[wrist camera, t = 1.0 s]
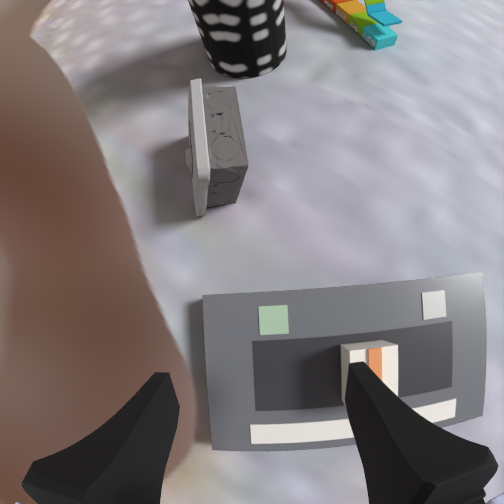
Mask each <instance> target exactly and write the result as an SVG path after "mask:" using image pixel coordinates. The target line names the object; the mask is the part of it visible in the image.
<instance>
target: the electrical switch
mask: <svg viewBox="0 0 504 504" xmlns="http://www.w3.org/2000/svg"><path fill="white" fill-rule="evenodd" d="M188 126H189V148H188V149H185V160H186V165H187V167H188V170H189V172H190V174H191V176H192V185H193V196H194V206H195V211H196V215H197V216H203V215H206V207H209V206H218V205H222V204H231V203H236V200H237V197H238V194H239V191H240V188H241V186H242V183H243V180H244V177H245V174H246V171H247V168H248V160H247V154H246V147H245V141H244V135H243V129H242V123H241V117H240V111H239V105H238V99H237V93H236V87H215V86H211V87H206V86H202V82H201V79H200V78H199V79H194V80H190V87H189V100H188ZM228 136H229V137H228ZM240 147H241V148H240ZM235 166H241V167H235Z"/></svg>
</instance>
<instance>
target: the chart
mask: <svg viewBox="0 0 504 504" xmlns="http://www.w3.org/2000/svg"><path fill="white" fill-rule="evenodd" d="M320 1H321V2H323V3H324V4H325V5H326V6H328V7H329V8H330V9H331V10H332V11H334V12H335V13H336V15H338V16H339V17H340V18H342V19H343V20H344V21H345V22H346V23H347V24H348V25H349V26H350V27H352V28H353V29H354V30H355V31H356V32H357V33H358V34H359V35H360V36H361V37H362V38H363V39H364V40H366V41H367V42H368V43H369V44H370V45H371V46H372V47H373V48H374V49H375V50H378V49H382V48H385V47H389V46H393V45H395V42H396V39H397V34H396V33H395V32H393V31H392V30H391V29H390V28H389V27H388V26H389V25H394V24H399V23H402V20H400V19H399V18H397V17H396V16H394V15H393V14H391V13H390V12H388V11H387V10H386V8H385V3H384V0H364V1H365V6H366V7H364V6H363V5H362V4H361V3H359V2H358V1H357V0H320Z"/></svg>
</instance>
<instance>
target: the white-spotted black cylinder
mask: <svg viewBox="0 0 504 504" xmlns="http://www.w3.org/2000/svg"><path fill="white" fill-rule="evenodd" d="M188 2H189V4H190V7H191V10H192V13H193V16H194V18H195V21H196V24H197V27H198V30H199V33H200V35H201V38H202V41H203V44H204V47H205V50H206V53H207V56H208V58H209V61H210V64H211V65H212V67H213V68H214V69H215V70H216V71H217V72H219V73H221V74H223V75H225V76H229V77H233V78H251V77H256V76H260V75H263V74H266V73H268V72H270V71H272V70H274V69H275V68H276V67H278V66H279V65H280V64H281V63H282V61H283V60H284V58H285V56H286V34H285V17H284V2H283V0H188Z"/></svg>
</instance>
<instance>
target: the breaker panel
mask: <svg viewBox="0 0 504 504" xmlns="http://www.w3.org/2000/svg"><path fill="white" fill-rule="evenodd" d="M202 298H203V323H204V343H205V361H206V377H207V392H208V405H209V418H210V430H211V441H212V450H223V451H288V450H306V449H319V448H330V447H340V446H348V445H356V441H355V438H354V435H353V432H352V429H351V426H350V423H349V419H348V414H347V409H346V406H345V405H344V403H343V401H342V379H341V344H352V343H361V342H370V341H378V340H384V341H387V342H390V343H393V344H397V345H398V397H399V398H400V399H401V400H402V401H403V402H405V403H406V404H407V405H408V406H409V407H410V408H412V409H413V410H414V411H416V412H417V413H418V414H420V415H421V416H423V417H424V418H425V419H427V420H428V421H430V422H432V423H433V424H435V425H437V426H438V427H440V428H442V427H446V426H450V425H453V424H457V423H460V422H464V421H467V420H470V419H473V418H476V417H480V416H482V415H483V405H484V394H485V379H486V309H485V293H484V282H483V272H479V273H471V274H463V275H455V276H446V277H437V278H428V279H419V280H409V281H399V282H388V283H378V284H367V285H355V286H343V287H330V288H317V289H303V290H288V291H272V292H254V293H235V294H214V295H202Z"/></svg>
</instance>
